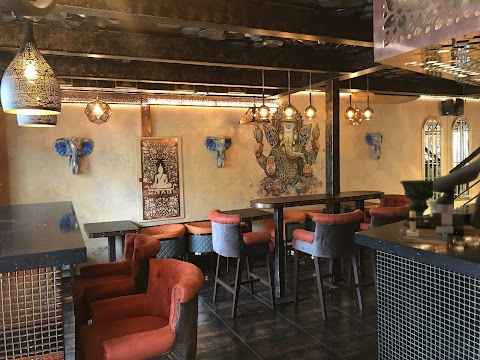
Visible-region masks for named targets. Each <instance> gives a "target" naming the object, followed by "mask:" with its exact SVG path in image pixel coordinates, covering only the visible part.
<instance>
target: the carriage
mask: <svg viewBox="0 0 480 360" xmlns="http://www.w3.org/2000/svg"><path fill="white" fill-rule="evenodd" d="M409 216H410V217H416V211H412V210H410V211H409ZM406 234H407V236H418V237H419V235H420V231H419V230H417V228H416V222H412V221H410V227H409V229H406Z"/></svg>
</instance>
